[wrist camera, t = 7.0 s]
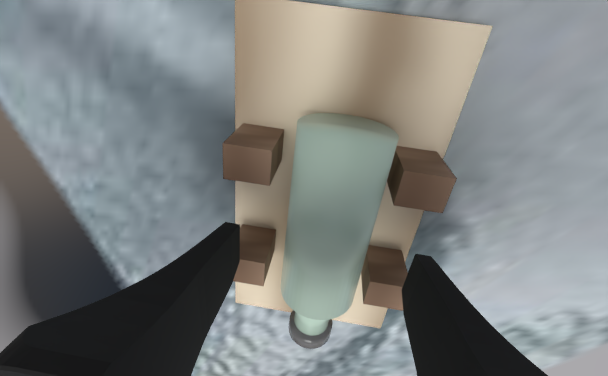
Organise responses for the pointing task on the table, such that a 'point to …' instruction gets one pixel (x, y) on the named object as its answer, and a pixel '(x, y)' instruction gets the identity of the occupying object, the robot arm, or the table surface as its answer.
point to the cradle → (352, 101)
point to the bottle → (331, 217)
